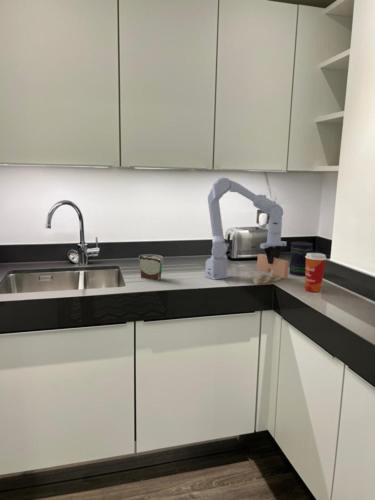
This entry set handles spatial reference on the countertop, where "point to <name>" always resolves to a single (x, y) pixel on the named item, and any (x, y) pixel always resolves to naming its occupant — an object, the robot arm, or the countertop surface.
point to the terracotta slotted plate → (273, 266)
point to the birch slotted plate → (266, 278)
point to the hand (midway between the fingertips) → (272, 263)
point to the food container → (151, 266)
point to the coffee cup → (314, 271)
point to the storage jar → (299, 257)
